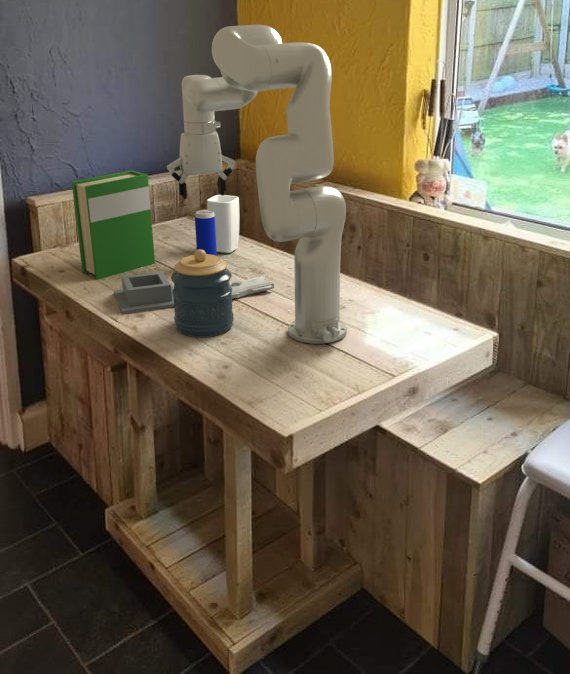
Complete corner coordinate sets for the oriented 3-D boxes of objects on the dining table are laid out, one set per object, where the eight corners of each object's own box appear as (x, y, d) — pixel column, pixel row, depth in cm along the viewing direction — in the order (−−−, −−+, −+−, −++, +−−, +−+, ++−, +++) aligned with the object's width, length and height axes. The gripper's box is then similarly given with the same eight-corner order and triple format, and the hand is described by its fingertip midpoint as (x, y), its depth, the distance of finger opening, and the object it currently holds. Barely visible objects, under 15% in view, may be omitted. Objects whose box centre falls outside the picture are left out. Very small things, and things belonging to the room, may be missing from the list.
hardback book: (97, 279, 212) (86, 186, 202) (82, 272, 217) (71, 181, 207) (155, 263, 222) (147, 174, 213) (139, 257, 227) (131, 170, 218)
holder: (182, 306, 194) (181, 286, 192) (122, 314, 190) (120, 294, 188) (170, 286, 206) (169, 268, 204) (113, 293, 202) (111, 274, 200)
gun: (259, 267, 208) (275, 280, 200) (260, 280, 210) (276, 293, 201) (190, 282, 202) (204, 296, 193) (191, 295, 203) (205, 310, 195)
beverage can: (221, 266, 220) (218, 211, 213) (209, 272, 216) (206, 215, 210) (205, 263, 222) (202, 208, 216) (193, 268, 218) (190, 213, 212)
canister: (168, 320, 187) (162, 244, 179) (224, 311, 191) (220, 237, 184) (183, 342, 175) (177, 262, 168) (241, 332, 180) (238, 254, 172)
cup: (242, 248, 233) (241, 196, 227) (230, 256, 227) (228, 203, 221) (220, 245, 236) (217, 194, 230) (207, 253, 230) (204, 200, 224)
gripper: (229, 122, 210) (231, 189, 217) (161, 127, 205) (166, 195, 212) (237, 128, 204) (239, 196, 211) (167, 133, 199) (172, 203, 206)
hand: (202, 196), depth 211 cm, fingers open, 9 cm apart
